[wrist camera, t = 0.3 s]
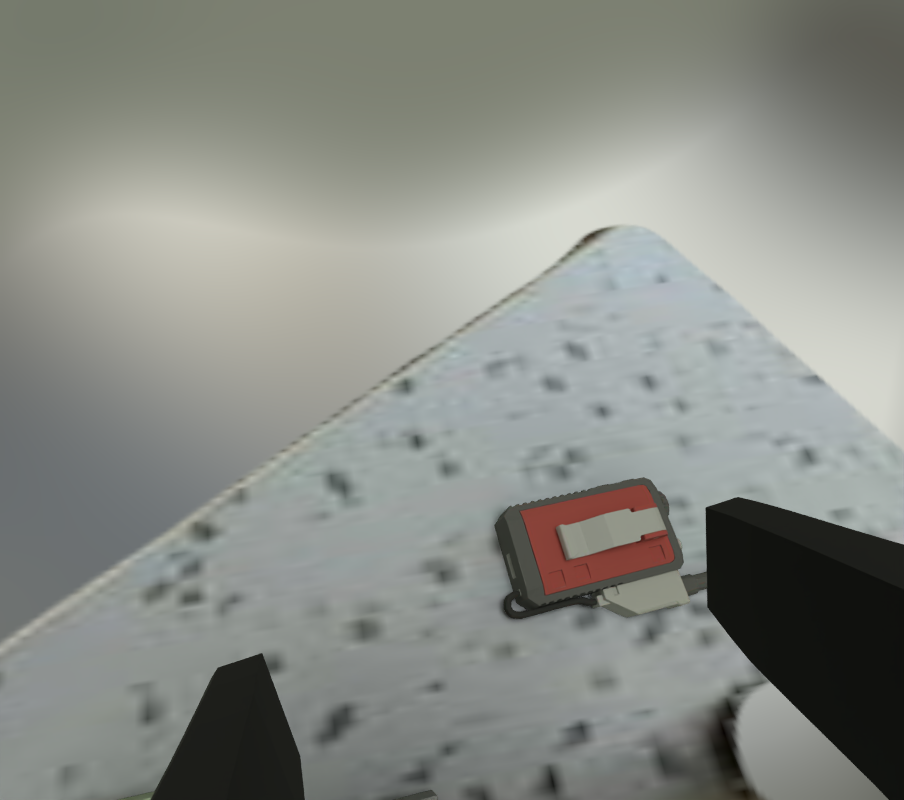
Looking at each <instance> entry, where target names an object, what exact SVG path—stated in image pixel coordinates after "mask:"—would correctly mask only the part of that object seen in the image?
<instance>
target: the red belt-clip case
mask: <svg viewBox="0 0 904 800" xmlns="http://www.w3.org/2000/svg"><path fill="white" fill-rule="evenodd" d="M668 515H669V503H668V501H667V499H666V497H665V495H663V494H662V493H661V492H660V491H657V488H656V487H655V486H654V484H653V483H652V481H651V480H649V479H646V478H644V477H643V478H639V479H630V480H626V481H622V482H620V483H615V484H611V485H609V484H607V485H602V486H597V487H596V488H592V489H589V490H587V491H585V490H583V491H581V492H579V493H578V492H575V493H573V494H570V493H569V494H567V495H565V496H564V495H560V496H559V497H556V496H554V497H553V498H551V499H549V498H546V499H545V500H541V499H540V500H538V501H537V502H534V501H531V502H530V503H528V504H527V503H523V504H522V505H519V504H517V505H515V506H514V507H512V506H509V507H508V509H507V510H506V511H505V512H504V513H503V514H502V515H501V516H500V518H499V519H498V521H497V523H496V524H495V529H496V533H497V536H498V540H499V543H500V547H501V550H502V554H503V557H504V561H505V564H506V568H507V571H508V575H509V578H510V582H511V585H512V589H513V592H512V593H510V594H509V595H508V596H506V598H505V600H504V610H505V612H506V614H507V615H508V616H509V617H511V618H516V619H522V618H526V617H529V616H533V615H537V614H540V613H544V612H548V611H551V610H555V609H559V608H562V607H567V606H571V605H575V604H583V605H586V606H593V608H597V607H601V606H602V607H604V608H606V609H608V610H610V611H612V612H615V613H617V614H619V615H621V616H624V617H627V618H628V617H632V616H636V615H640V614H644V613H647V612H651V611H655V610H658V609H662V608H668V609H670V608H674V607H678V606H682V605H685V604H688V603H690V599H689V597H688V596H690V595H693V594H696V593H698V591H699V590H703V589H706V588H707V572H704V573H701V574H697V575H693V576H692V575H690V574H688V575H685V576H680V574H679V571H678V569H680V568H681V566H682V565H683V563H684V561H683V554H682V550H681V549H682V543H681V541H680V540H679V539H677V538H676V535H675V533H674V530H673V528H672V525H671V523H670V521H669V518H668ZM591 593H592V594H591ZM589 594H591V595H592V598H590V599H588V598H584V597H581V596H584V595H589ZM577 597H578V598H577ZM514 598H515V599H516V603H517V604H519V605H520V606H522V607H524V608H525V609H527V611H523V612H517V611H514V610H513V609H512V608H511V602H512V600H513V599H514Z"/></svg>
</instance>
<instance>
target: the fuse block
mask: <svg viewBox="0 0 904 800" xmlns="http://www.w3.org/2000/svg"><path fill="white" fill-rule="evenodd" d="M394 800H438V797H437V795H436V794H435V793H434V792H433V791H432V790H430V791H426V792H422V793H418V794H414V795H410V796H406V797H402V798H398V799H394Z"/></svg>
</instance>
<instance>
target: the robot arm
mask: <svg viewBox="0 0 904 800" xmlns="http://www.w3.org/2000/svg"><path fill="white" fill-rule="evenodd" d="M706 553H707V607H708V608H709V610H710V611H711V612H712V614H713V615H714V616H715V618H716V619H717V620H718V622H719V623H720V624H721V625H722V627H723V628H724V629H725V631H726V632H727V633H728V635H729V636H730V637H731V638H732V640H733V641H734V642H735V643H736V644H737V646H738V647H739V648H740V649H741V651H742V652H743V653H744V654H745V655H746V657H747V658H748V659H749V660H750V661H751V662H752V663H753V664H754V665H755V667H756V668H757V669H758V670H759V671H760V672H761V673H762V674H763V675H764V676H765V677H766V678H767V679H768V680H769V681H770V682H771V683H772V684H773V685H774V686H775V687H776V688H777V689H778V690H779V691H780V692H781V693H782V694H783V695H784V696H785V697H786V698H787V699H788V700H789V701H790V702H791V703H792V704H793V705H794V706H795V707H796V708H797V709H798V710H799V711H800V712H801V713H802V714H803V715H804V716H805V717H806V718H807V719H808V720H810V722H811V723H813V724H814V725H815V726H816V727H817V728H818V729H819V730H820V731H821V732H822V733H823V734H824V735H825V736H826V737H827V738H828V739H829V740H830V741H831V742H832V743H833V744H834V745H835V746H836V747H837V748H838V749H839V750H840V751H841V752H842V753H843V754H844V755H845V756H846V757H847V758H848V759H849V760H850V761H851V762H852V763H853V764H854V765H855V766H856V767H857V768H858V769H859V770H860V771H861V772H862V773H863V774H864V775H865V776H866V777H867V778H868V779H869V780H871V782H872V783H873V784H874V785H875V786H876V787H877V788H878V789H879V790H880V791H881V792H882V793H883V794H884V795H885V796H886V797H887V798H888V799H889V800H904V545H903V544H899V543H896V542H892V541H889V540H886V539H882V538H879V537H875V536H872V535H869V534H865V533H862V532H859V531H855V530H852V529H849V528H845V527H842V526H839V525H835V524H832V523H829V522H825V521H822V520H819V519H816V518H812V517H809V516H806V515H802V514H799V513H796V512H792V511H789V510H785V509H782V508H778V507H775V506H771V505H768V504H764V503H760V502H756V501H752V500H748V499H744V498H739V497H736V498H733V499H730V500H727V501H724V502H721V503H718V504H715V505H712V506H709V507H706ZM150 800H305V798H304V788H303V778H302V769H301V759H300V754H299V752H298V749H297V746H296V744H295V741H294V738H293V735H292V733H291V730H290V727H289V725H288V722H287V719H286V717H285V714H284V711H283V708H282V706H281V703H280V700H279V698H278V695H277V692H276V689H275V687H274V684H273V681H272V679H271V676H270V673H269V670H268V668H267V665H266V662H265V660H264V657H263V654H262V653H261V654H258V655H255V656H252V657H249V658H246V659H243V660H240V661H237V662H234V663H231V664H228V665H225V666H222V667H219V668H217V670H216V672H215V673H214V675H213V676H212V678H211V680H210V682H209V684H208V686H207V688H206V690H205V692H204V695H203V697H202V699H201V701H200V703H199V705H198V707H197V709H196V711H195V713H194V715H193V717H192V719H191V721H190V723H189V725H188V728H187V730H186V732H185V734H184V736H183V738H182V740H181V742H180V744H179V746H178V748H177V750H176V752H175V754H174V756H173V758H172V760H171V762H170V763H169V765H168V767H167V769H166V771H165V773H164V775H163V777H162V779H161V781H160V783H159V784H158V786H157V788H156V790H155V792H154V794H153V796H152V798H151V799H150Z"/></svg>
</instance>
